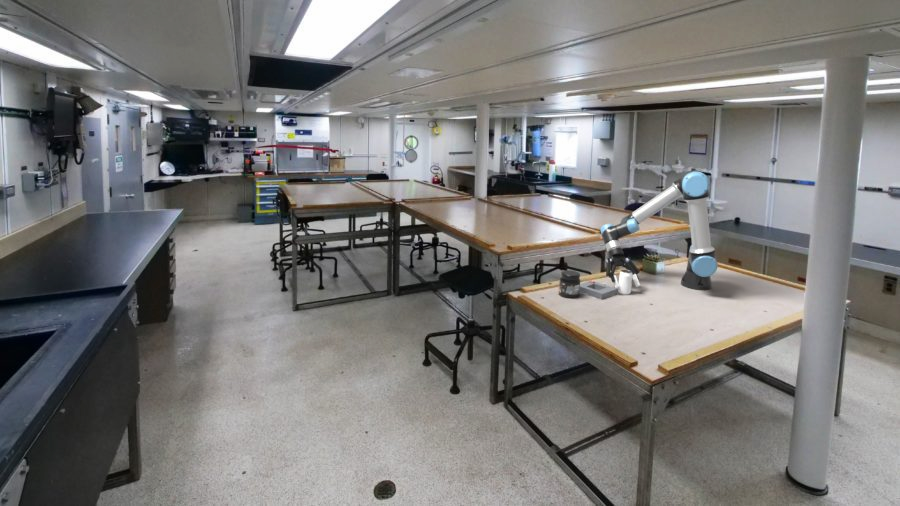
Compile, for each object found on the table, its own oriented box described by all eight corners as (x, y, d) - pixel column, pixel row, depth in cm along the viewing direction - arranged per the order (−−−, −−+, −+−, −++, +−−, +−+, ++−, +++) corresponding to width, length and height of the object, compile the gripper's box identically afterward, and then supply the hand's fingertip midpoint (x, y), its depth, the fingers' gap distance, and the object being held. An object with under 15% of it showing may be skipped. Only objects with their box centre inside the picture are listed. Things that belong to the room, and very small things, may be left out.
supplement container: (559, 290, 247) (561, 268, 244) (579, 293, 244) (582, 271, 240) (556, 296, 237) (558, 274, 234) (578, 299, 234) (580, 277, 231)
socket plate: (616, 294, 243) (617, 287, 242) (601, 299, 235) (602, 292, 234) (590, 285, 255) (591, 279, 254) (575, 290, 247) (576, 283, 246)
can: (617, 293, 244) (619, 272, 240) (617, 289, 250) (620, 268, 246) (630, 295, 241) (633, 273, 238) (630, 291, 247) (633, 270, 244)
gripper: (630, 252, 258) (644, 288, 248) (591, 254, 253) (604, 291, 242) (637, 246, 252) (651, 282, 241) (598, 247, 246) (610, 284, 236)
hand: (627, 286), depth 242 cm, fingers open, 11 cm apart
